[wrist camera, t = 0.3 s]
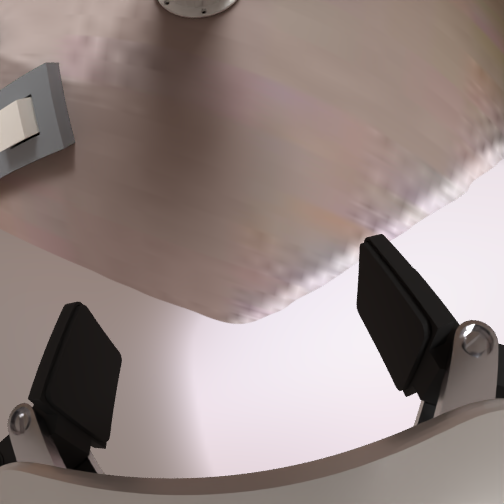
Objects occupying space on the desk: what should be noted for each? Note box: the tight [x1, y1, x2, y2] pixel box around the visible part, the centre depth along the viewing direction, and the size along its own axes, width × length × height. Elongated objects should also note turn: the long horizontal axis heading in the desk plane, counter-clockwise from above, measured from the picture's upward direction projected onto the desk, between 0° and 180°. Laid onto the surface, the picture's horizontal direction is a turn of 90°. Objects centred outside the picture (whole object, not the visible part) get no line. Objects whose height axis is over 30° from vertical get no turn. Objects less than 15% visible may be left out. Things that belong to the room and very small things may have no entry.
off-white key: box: [0, 97, 39, 152], centre depth 28 cm, size 6×6×5 cm
